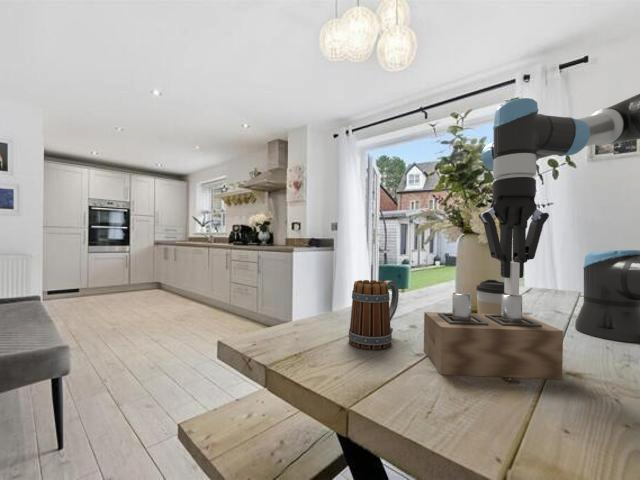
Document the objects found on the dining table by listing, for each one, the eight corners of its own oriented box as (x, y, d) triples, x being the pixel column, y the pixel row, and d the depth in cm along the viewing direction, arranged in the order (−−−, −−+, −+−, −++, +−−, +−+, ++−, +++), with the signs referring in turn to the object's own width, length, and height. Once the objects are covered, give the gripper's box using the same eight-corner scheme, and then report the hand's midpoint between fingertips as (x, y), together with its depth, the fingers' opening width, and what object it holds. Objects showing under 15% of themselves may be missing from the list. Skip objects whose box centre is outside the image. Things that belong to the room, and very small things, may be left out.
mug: (372, 354, 68) (373, 287, 68) (339, 341, 76) (340, 281, 76) (412, 340, 78) (413, 281, 78) (380, 330, 86) (380, 277, 86)
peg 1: (466, 332, 66) (467, 292, 66) (473, 337, 62) (474, 295, 62) (449, 331, 66) (450, 292, 66) (455, 337, 62) (456, 295, 62)
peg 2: (515, 333, 65) (516, 293, 65) (525, 339, 61) (526, 297, 61) (497, 333, 65) (498, 293, 65) (506, 338, 62) (507, 296, 62)
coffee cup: (521, 346, 75) (522, 284, 75) (481, 343, 76) (482, 283, 76) (506, 334, 84) (507, 279, 83) (471, 332, 85) (471, 278, 85)
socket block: (523, 355, 69) (524, 313, 69) (562, 379, 57) (563, 328, 57) (423, 351, 70) (424, 310, 70) (440, 374, 58) (441, 325, 58)
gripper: (535, 182, 66) (533, 291, 67) (473, 182, 67) (471, 289, 67) (560, 175, 59) (557, 298, 59) (489, 175, 60) (487, 296, 60)
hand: (511, 293), depth 63 cm, fingers closed
